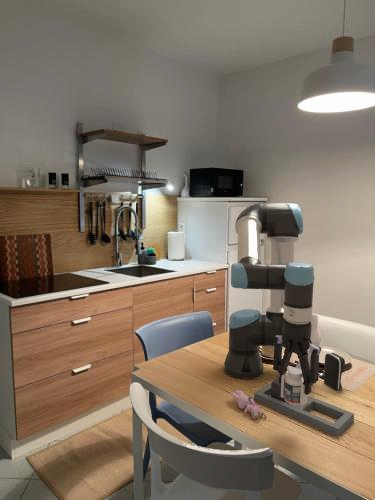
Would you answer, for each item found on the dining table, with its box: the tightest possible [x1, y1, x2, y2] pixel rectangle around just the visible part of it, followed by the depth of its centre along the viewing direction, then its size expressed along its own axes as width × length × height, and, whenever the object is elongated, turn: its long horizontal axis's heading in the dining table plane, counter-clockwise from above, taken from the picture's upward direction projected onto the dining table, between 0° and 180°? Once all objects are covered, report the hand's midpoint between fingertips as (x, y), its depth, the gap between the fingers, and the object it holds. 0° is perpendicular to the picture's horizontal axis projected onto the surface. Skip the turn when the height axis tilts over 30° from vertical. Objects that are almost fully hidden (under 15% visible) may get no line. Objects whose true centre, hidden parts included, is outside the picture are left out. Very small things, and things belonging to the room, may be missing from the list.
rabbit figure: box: [230, 389, 267, 423], centre depth 119 cm, size 6×6×15 cm
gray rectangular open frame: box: [253, 376, 355, 438], centre depth 119 cm, size 28×11×7 cm, turn 45°
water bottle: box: [294, 313, 322, 378], centre depth 137 cm, size 7×7×25 cm
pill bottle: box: [284, 367, 304, 405], centre depth 107 cm, size 5×5×9 cm
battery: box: [323, 352, 346, 391], centre depth 135 cm, size 7×4×11 cm, turn 20°
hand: (293, 399), depth 107 cm, fingers closed on pill bottle, 5 cm apart
